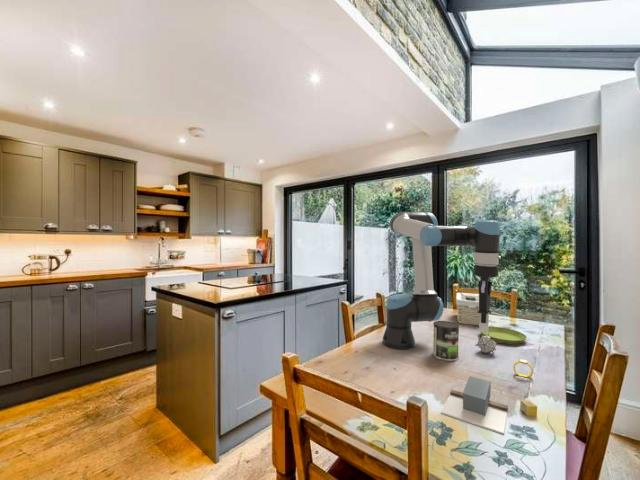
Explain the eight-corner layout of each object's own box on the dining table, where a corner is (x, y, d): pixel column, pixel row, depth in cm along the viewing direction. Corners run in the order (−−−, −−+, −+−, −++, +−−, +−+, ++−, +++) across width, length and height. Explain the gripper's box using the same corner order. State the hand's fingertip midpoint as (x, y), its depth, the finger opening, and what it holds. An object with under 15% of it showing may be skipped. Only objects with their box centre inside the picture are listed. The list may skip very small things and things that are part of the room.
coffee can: (464, 359, 127) (464, 326, 127) (443, 362, 125) (443, 328, 124) (447, 350, 137) (448, 319, 137) (428, 352, 135) (428, 321, 134)
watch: (531, 377, 113) (533, 361, 112) (532, 380, 110) (534, 364, 110) (512, 372, 116) (514, 357, 116) (512, 375, 114) (514, 359, 113)
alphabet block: (529, 409, 91) (529, 400, 91) (537, 416, 88) (537, 405, 88) (519, 410, 91) (520, 400, 91) (527, 416, 88) (527, 406, 88)
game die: (491, 362, 134) (503, 349, 128) (472, 354, 135) (483, 341, 129) (489, 346, 141) (501, 333, 135) (471, 338, 142) (482, 325, 136)
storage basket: (486, 327, 173) (486, 301, 172) (455, 323, 179) (455, 298, 179) (483, 317, 194) (484, 294, 194) (456, 314, 201) (456, 292, 201)
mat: (440, 413, 89) (440, 411, 89) (450, 395, 99) (450, 394, 99) (503, 434, 80) (503, 433, 80) (507, 412, 90) (507, 411, 90)
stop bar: (450, 395, 99) (450, 392, 99) (451, 393, 101) (451, 389, 101) (507, 412, 90) (507, 408, 90) (507, 409, 91) (507, 405, 91)
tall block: (469, 389, 100) (462, 408, 91) (469, 375, 99) (462, 393, 90) (490, 395, 96) (485, 415, 87) (490, 380, 95) (485, 399, 87)
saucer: (472, 338, 155) (472, 332, 155) (487, 329, 168) (487, 324, 168) (519, 350, 139) (519, 343, 139) (531, 339, 153) (531, 333, 153)
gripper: (496, 267, 98) (493, 339, 99) (500, 263, 108) (497, 328, 109) (470, 265, 102) (468, 334, 103) (477, 262, 113) (474, 324, 114)
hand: (483, 331), depth 106 cm, fingers closed
